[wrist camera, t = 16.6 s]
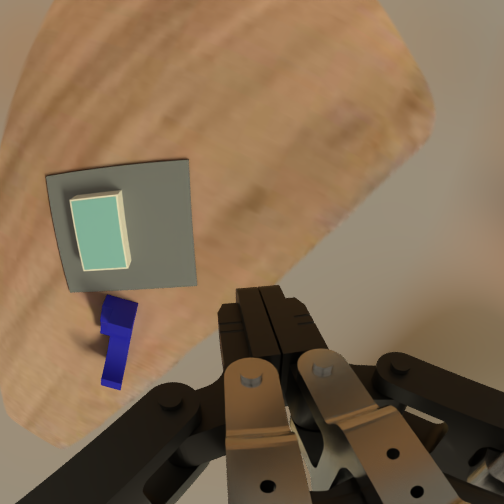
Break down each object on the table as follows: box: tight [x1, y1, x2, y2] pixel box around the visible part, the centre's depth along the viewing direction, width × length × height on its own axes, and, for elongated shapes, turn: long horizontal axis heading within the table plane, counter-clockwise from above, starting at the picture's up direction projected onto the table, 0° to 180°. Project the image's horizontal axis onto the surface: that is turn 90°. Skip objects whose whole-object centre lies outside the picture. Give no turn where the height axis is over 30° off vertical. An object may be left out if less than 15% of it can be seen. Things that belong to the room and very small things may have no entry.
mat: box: [46, 159, 197, 292], centre depth 36 cm, size 16×18×1 cm
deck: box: [70, 190, 131, 271], centre depth 34 cm, size 9×2×6 cm
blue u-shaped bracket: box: [100, 294, 138, 390], centre depth 39 cm, size 12×4×6 cm, turn 159°
